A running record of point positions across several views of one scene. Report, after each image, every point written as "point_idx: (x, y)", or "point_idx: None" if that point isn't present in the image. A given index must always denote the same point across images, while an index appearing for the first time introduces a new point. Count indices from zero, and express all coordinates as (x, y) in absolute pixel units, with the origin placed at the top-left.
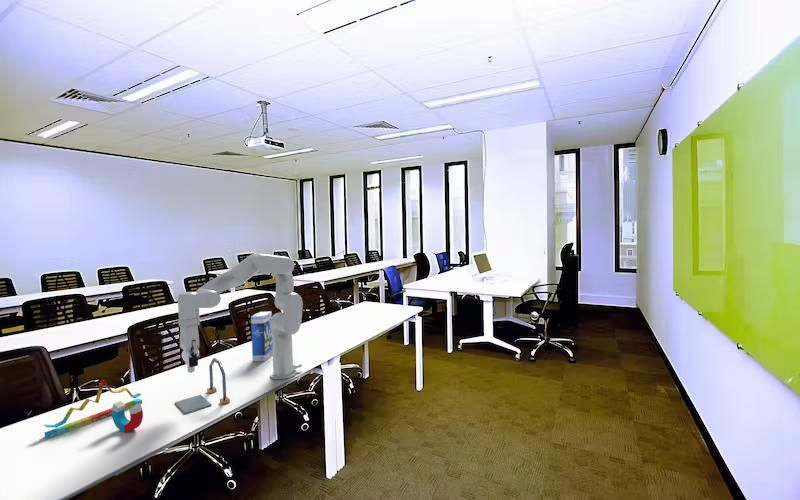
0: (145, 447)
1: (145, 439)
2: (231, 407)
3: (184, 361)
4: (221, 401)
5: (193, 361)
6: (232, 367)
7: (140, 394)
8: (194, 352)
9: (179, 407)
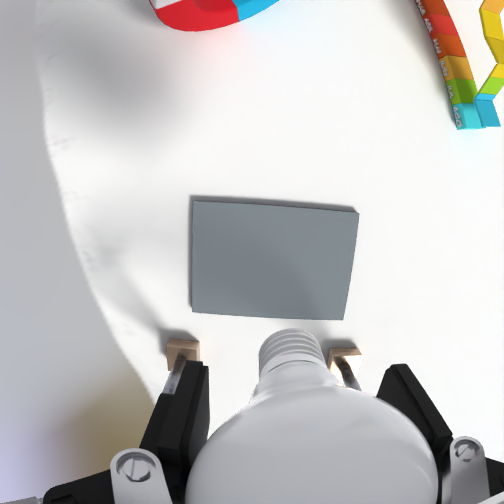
0: (61, 52)
1: (106, 50)
2: (124, 344)
3: (400, 375)
4: (178, 345)
5: (153, 428)
6: (453, 438)
7: (483, 123)
8: (15, 502)
9: (280, 206)
